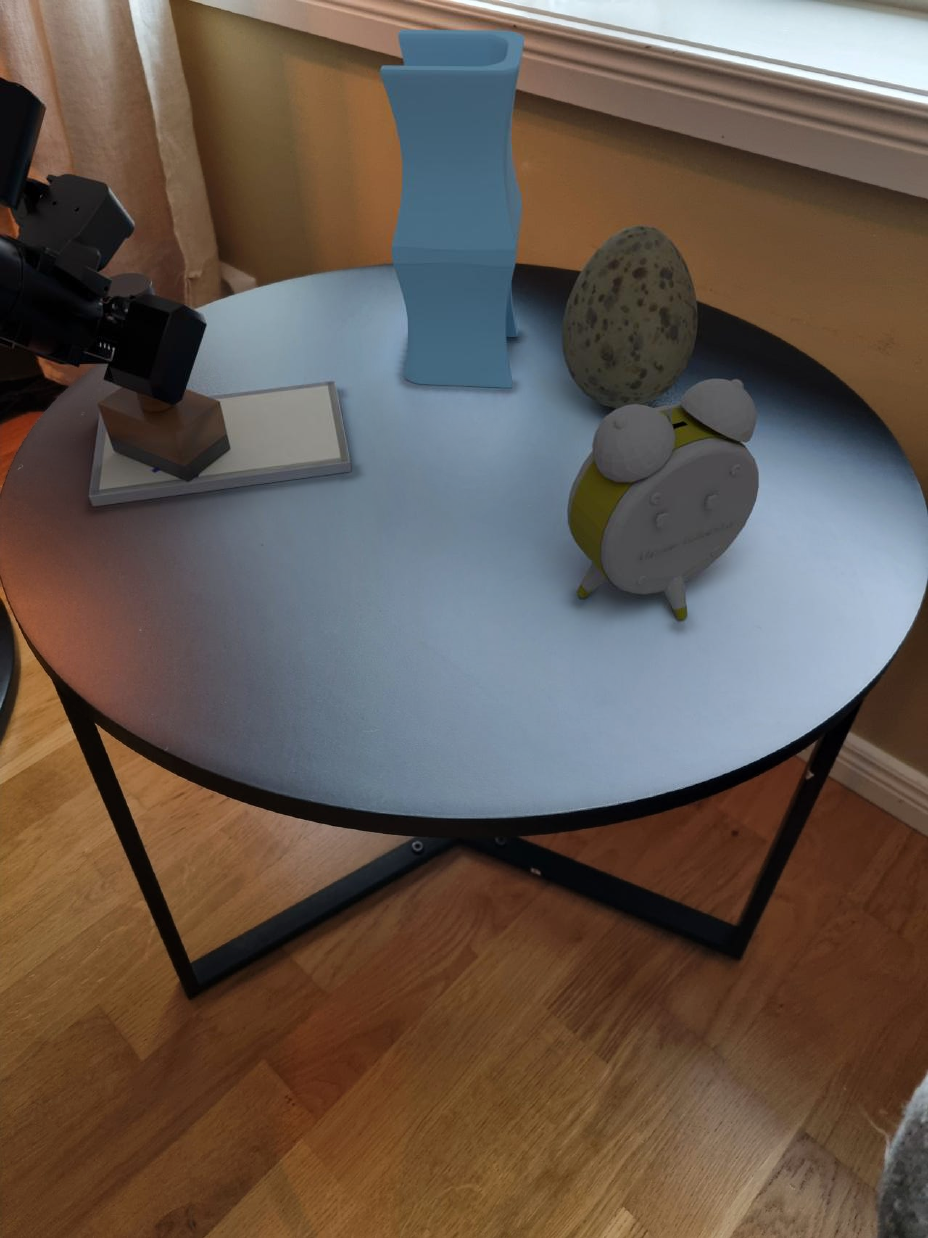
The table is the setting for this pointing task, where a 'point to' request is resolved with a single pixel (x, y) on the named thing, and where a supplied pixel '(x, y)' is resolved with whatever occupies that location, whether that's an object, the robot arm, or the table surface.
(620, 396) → the decorative egg
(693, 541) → the alarm clock
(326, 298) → the table surface
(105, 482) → the board
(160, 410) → the wooden rubber stamp
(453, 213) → the vase
